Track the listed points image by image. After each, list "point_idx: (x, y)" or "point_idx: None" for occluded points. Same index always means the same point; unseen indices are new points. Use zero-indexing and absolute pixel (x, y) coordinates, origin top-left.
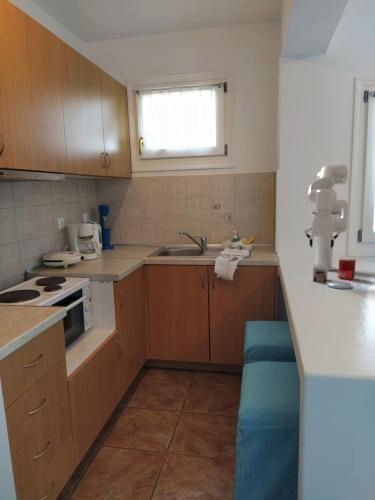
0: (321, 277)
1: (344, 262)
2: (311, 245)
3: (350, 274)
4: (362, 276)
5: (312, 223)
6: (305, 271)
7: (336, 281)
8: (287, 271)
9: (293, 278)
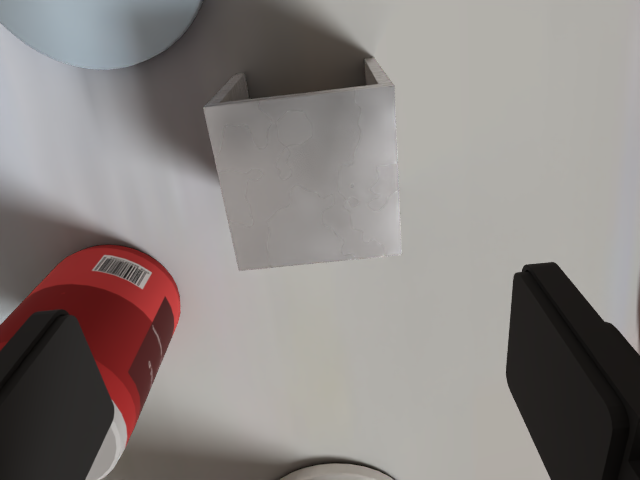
0: None
1: None
2: (554, 282)
3: (50, 275)
4: None
5: None
6: (458, 404)
7: (131, 45)
8: None
9: (567, 110)
